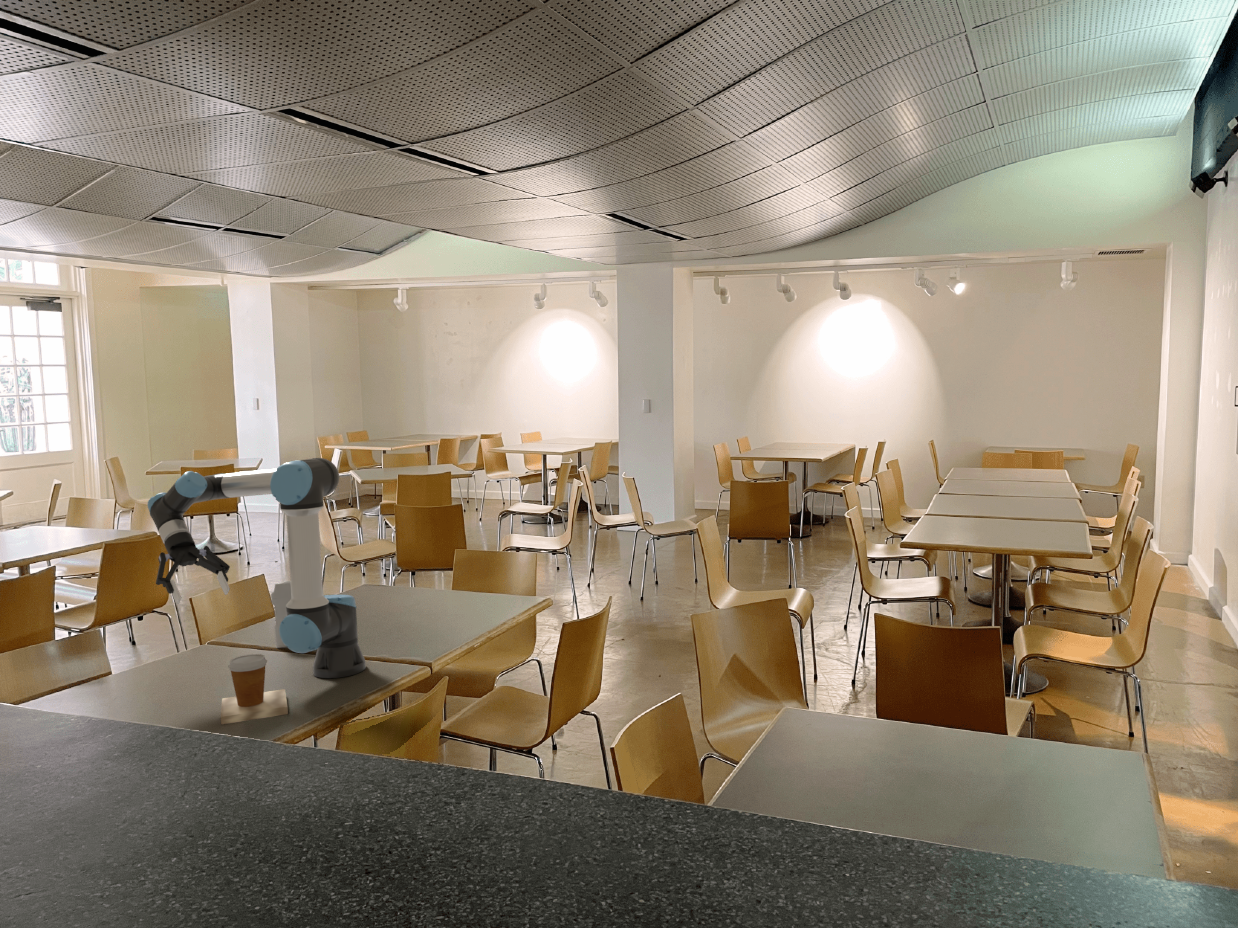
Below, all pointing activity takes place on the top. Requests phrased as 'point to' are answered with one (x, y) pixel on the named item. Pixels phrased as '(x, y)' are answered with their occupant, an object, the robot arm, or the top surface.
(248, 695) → the disposable coffee cup
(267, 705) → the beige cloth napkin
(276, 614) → the tall pale column
